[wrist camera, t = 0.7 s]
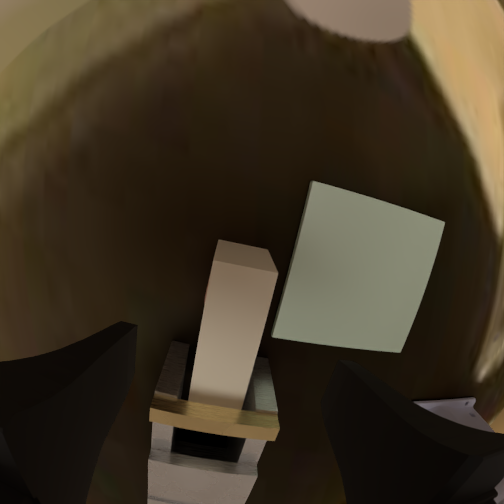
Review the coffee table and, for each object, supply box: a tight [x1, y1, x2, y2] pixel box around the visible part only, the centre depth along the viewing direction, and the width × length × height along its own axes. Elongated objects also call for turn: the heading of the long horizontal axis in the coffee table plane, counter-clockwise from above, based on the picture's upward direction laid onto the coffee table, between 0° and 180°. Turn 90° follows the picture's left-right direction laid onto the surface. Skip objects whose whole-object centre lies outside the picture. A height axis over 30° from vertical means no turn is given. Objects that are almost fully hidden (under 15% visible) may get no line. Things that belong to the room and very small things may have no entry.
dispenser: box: [148, 341, 280, 504], centre depth 19 cm, size 7×12×7 cm, turn 167°
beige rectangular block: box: [188, 240, 278, 410], centre depth 18 cm, size 3×10×5 cm, turn 167°
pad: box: [271, 181, 445, 353], centre depth 20 cm, size 10×10×1 cm
